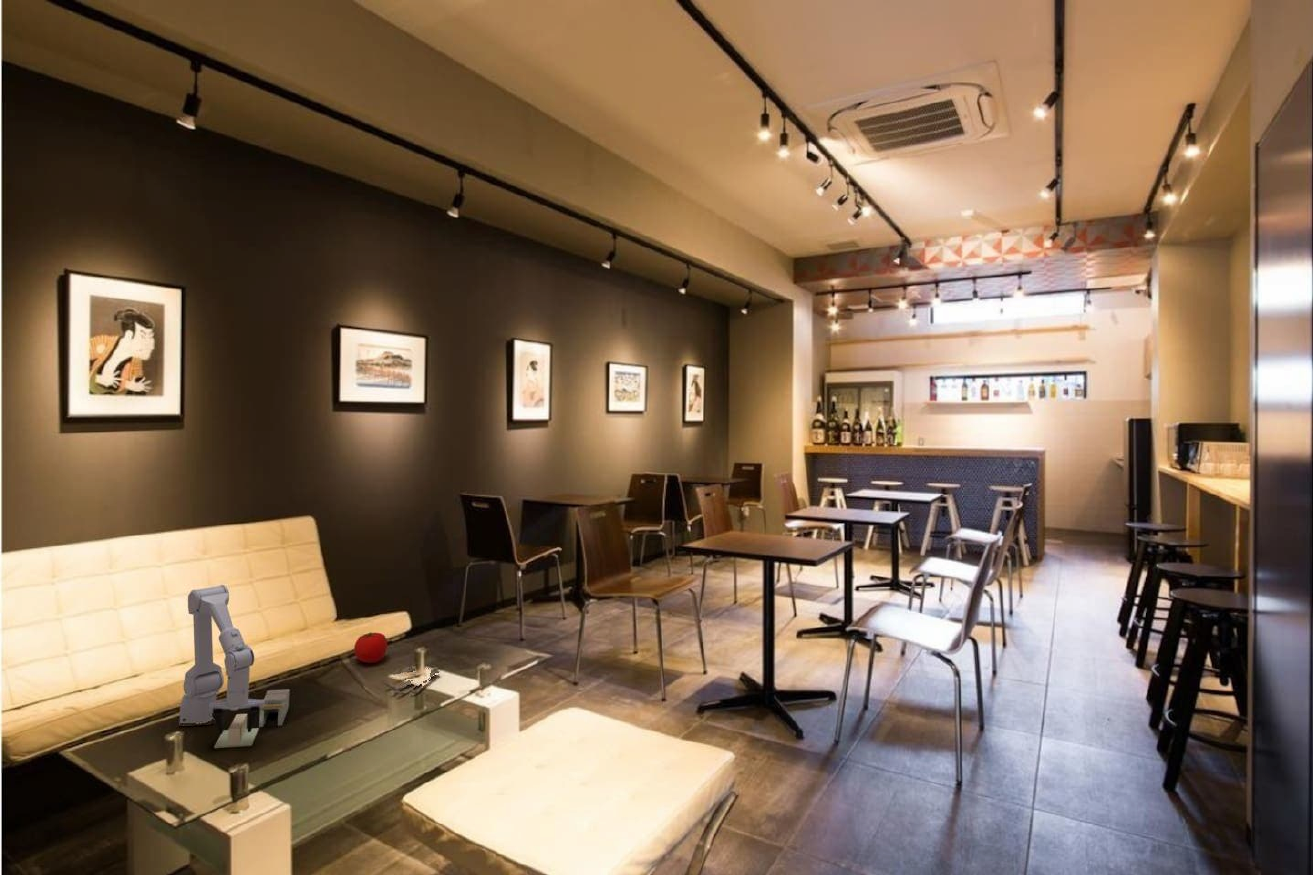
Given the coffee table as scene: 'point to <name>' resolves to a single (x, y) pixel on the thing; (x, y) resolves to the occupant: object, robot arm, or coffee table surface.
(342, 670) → the coffee table surface
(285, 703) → the frame
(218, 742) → the pad
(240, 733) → the beige rectangular block
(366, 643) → the tomato
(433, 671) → the skeleton model
